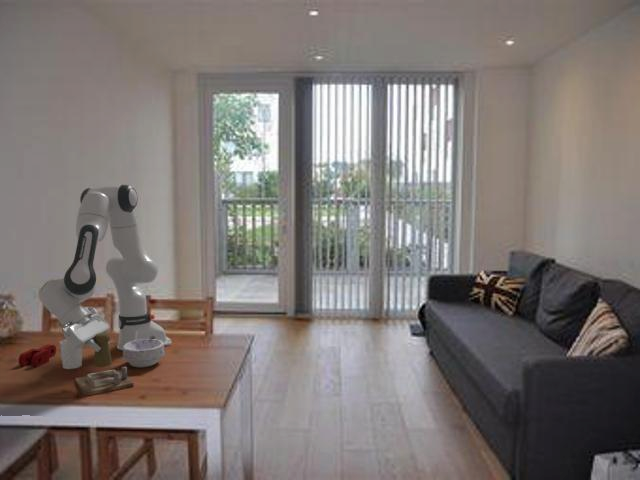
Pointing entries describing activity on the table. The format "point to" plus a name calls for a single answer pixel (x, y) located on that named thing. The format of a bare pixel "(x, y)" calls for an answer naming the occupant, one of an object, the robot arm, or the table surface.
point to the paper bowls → (143, 352)
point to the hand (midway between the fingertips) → (103, 347)
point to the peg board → (104, 381)
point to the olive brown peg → (102, 350)
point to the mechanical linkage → (37, 356)
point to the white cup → (70, 355)
